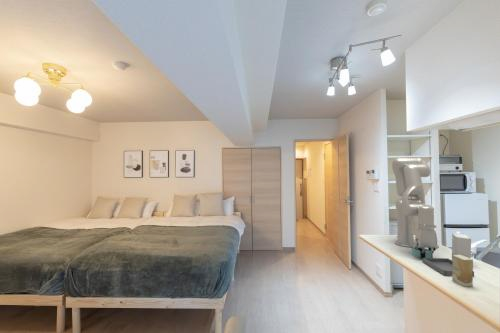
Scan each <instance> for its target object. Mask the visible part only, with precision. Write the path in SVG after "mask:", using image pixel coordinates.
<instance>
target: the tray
mask: <svg viewBox="0 0 500 333" xmlns="http://www.w3.org/2000/svg"><path fill="white" fill-rule="evenodd" d="M421 260H422V263H423V264H425V265H426V266H427V267H429V268H431V269H432V270H434V271H436V272H437V273H439V274H440V275H442V276H444V277H452V266H453V260H452V259H450V258H449V257H448V258H447V257H445V258H443V257H442V258H441V257H433V258H421ZM474 277H475V272H474V270H473V278H474Z"/></svg>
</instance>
